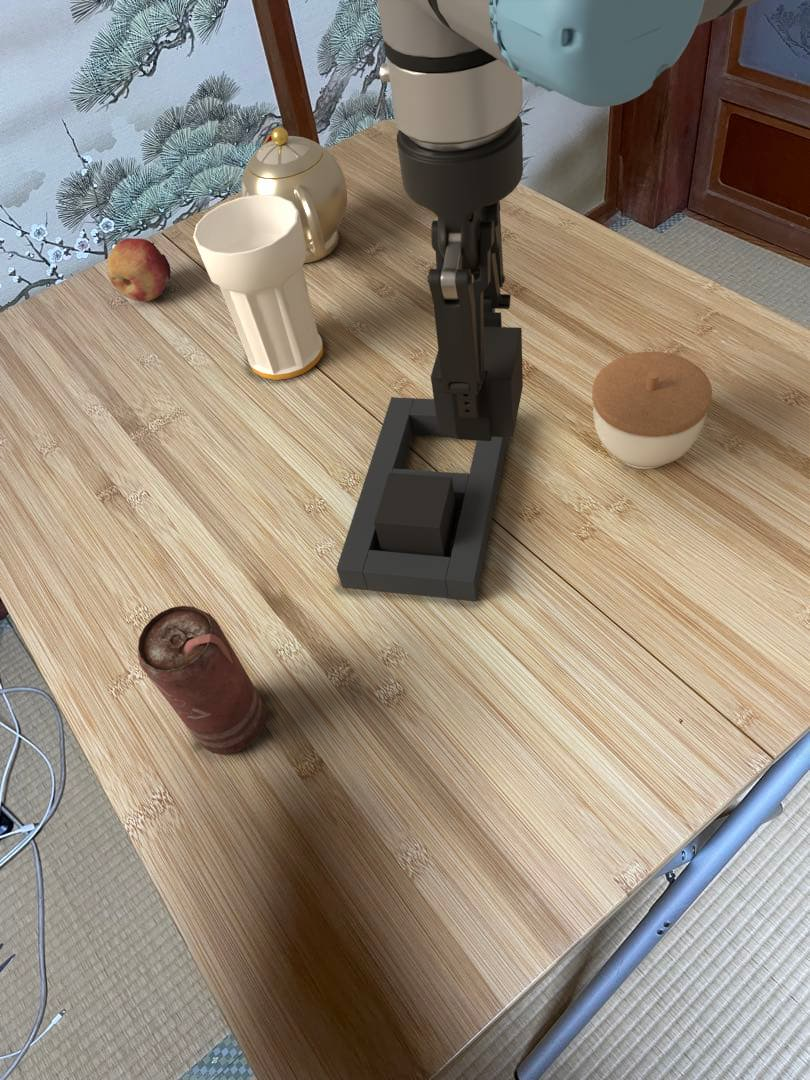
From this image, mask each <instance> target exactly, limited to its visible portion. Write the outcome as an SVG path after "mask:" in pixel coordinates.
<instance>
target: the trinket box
mask: <svg viewBox="0 0 810 1080" xmlns="http://www.w3.org/2000/svg"><path fill="white" fill-rule="evenodd" d="M591 394H592V395H591V398H592V413H593V414H592V417H593V418H592V419H593V422H594V427H595V433H596V435H597V437H598V439H599V441H600V442H601V444H602V446H603V447H604V448H605V450H606V451H607V452H608V453H609V454H610V455H611V456H613V458H616V459H617V460H619V461H620V462H622V463H623V464H624V465H627V466H628V467H631V468H635V469H638V470H639V469H640V470H652V469H653V470H654V469H658V468H660V467H664V466H665V465H668V464H672V463H673V462H675V461H677V460H678V459H680V458H681V457H683V456H684V455H685V454H686V453H688V451H690V449H692V447H693V446H694V445H695V443H696V442H697V440H698V438H699V437H700V435H701V433H702V431H703V429H704V425H705V423H706V419H707V416H708V412H709V409H710V406H711V404H712V400H713V399H712V398H713V386H712V383H711V380H710V379H709V377H708V376H707V374H706V373H705V372H704V371H703V369H702V368H700V367H699V366H698V365H697V364H695V363H694V362H692V361H691V360H689V359H687V358H685V357H683V356H679V355H677V354H673V353H668V352H664V351H663V352H662V351H639V352H634V353H629V354H626V355H623V356H620V357H618V358H616V359H614V360H612V361H610V362H609V363H607V364H606V365H605V366H604V367H603V368H602V369H601V370H600V371H599V372H598V373H597V375H596V376H595V379H594V380H593V384H592V390H591Z"/></svg>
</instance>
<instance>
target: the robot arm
mask: <svg viewBox="0 0 810 1080" xmlns="http://www.w3.org/2000/svg"><path fill="white" fill-rule="evenodd" d="M760 1H761V0H376V2H377V6H378V7H377V9H378V14H379V21H380V27H381V28H380V29H381V33H382V41H383V47H384V55H385V59H386V62H384V63H381V64H380V68H379V72H378V77H379V79H380V80H381V81H382V82H384V83H390V91H391V94H390V96H391V103H392V109H393V117H394V118H393V119H394V122H395V126H396V127H397V129H398V131H397V134H396V145H397V146H396V147H397V152H398V160H399V165H400V166H399V167H400V173H401V181H402V186H403V189H404V191H405V193H406V195H407V196H408V197H409V199H410V200H412V202H414V203H415V204H416V205H419V206H421V207H423V208H425V209H427V210H429V211H430V212H432V213H434V215H435V216H436V217H437V220H436V219H435V220H432V221H431V228H430V239H431V240H430V241H431V248H432V249H433V250H434V252H435V267H436V268H430V269H429V271H428V275H427V283H428V287H429V290H430V295H431V299H432V303H433V312H434V323H435V332H436V342H437V352H438V351H439V361H440V370H441V372H440V373H439V375H438V377H437V378H438V382H442V383H441V387H442V389H443V393H451V394H452V402H453V410H454V419H455V428H456V436H457V437H456V440H463V441H477V440H479V441H491V438H492V424H491V410H490V396H489V381H488V371H484V326H485V327H503V326H502V325H503V323H502V312H501V311H500V312H496V310H498V309H499V310H510V309H511V300H512V299H511V297H512V296H511V294H510V293H504V294H503V293H501V288H503V286H504V283H505V282H506V276H505V275H504V259H503V258H504V257H503V242H502V240H503V239H502V223H501V201H502V200H504V199H505V198H506V197H508V196H509V195H510V194H511V193H512V192H514V190H515V189H516V188H517V187H518V185H519V184H520V182H521V179H522V177H523V173H524V151H523V150H524V147H523V145H524V144H523V121H522V118H521V116H520V113H521V112H522V109H523V104H524V103H523V101H524V100H523V97H524V95H523V94H524V93H523V80H525V82H527V83H530V84H531V85H532V86H534V87H535V88H536V87H541V88H542V89H544V91H547V92H549V93H550V92H556V93H558V94H559V95H562V96H564V97H566V98H568V99H570V100H572V101H574V102H576V103H579V104H581V105H584V106H588V107H596V108H608V107H614V106H618V105H622V104H625V103H628V102H630V101H632V100H634V99H636V98H638V97H640V96H641V95H643V94H645V93H646V92H647V91H648V90H650V89H651V88H652V86H653V84H654V81H655V80H656V79H657V78H658V77H659V76H660V75H661V74H662V73H663V72H664V71H665V70H666V69H669V68H672V67H673V66H674V65H675V64H676V62H677V61H678V60H679V59H680V57H681V56H682V54H683V53H684V51H685V49H686V48H687V46H688V44H689V42H690V40H691V39H692V36H693V34H694V33H695V30H696V28H697V26H700V25H702V24H704V23H707V22H710V21H712V20H714V19H717V18H720V17H723V16H725V15H726V14H728V13H730V12H733V11H736V10H738V9H741V8H744V7H746V6H749V5H752V4H754V3H757V2H760Z"/></svg>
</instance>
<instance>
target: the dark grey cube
mask: <svg viewBox="0 0 810 1080" xmlns="http://www.w3.org/2000/svg"><path fill="white" fill-rule="evenodd" d="M458 520H459V519H458V512H457V511H456V504H455V496H454V489H453V481H452V477H442V476H427V475H413V474H399V473H389V474H388V478H387V481H386V484H385V488H384V491H383V494H382V497H381V501H380V504H379V507H378V511H377V514H376V517H375V521H374V524H375V528H376V532H377V536H378V540H379V543H380V551H387V552H398V553H409V554H420V555H431V556H442V557H450V553H451V551H452V545H453V542H454V537H455V533H456V532H455V531H456V529H457V528H456V527H457V524H458Z"/></svg>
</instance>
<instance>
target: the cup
mask: <svg viewBox="0 0 810 1080" xmlns="http://www.w3.org/2000/svg"><path fill="white" fill-rule="evenodd" d="M192 236H193V237H192V239H193V241H194V243H195V246H196V248H197V250H198V252H199V256H200V257H201V260H202V263H203V265H204V267H205V270H206V272H207V274H208V276H209V279H210V281H211V282H212V283H213V284H215V285H217V286H218V287H219V289H220V291H221V294H222V297H223V300H224V302H225V305H226V307H227V309H228V312H229V314H230V317H231V319H232V322H233V324H234V327H235V330H236V332H237V335H238V337H239V339H240V342H241V344H242V346H243V347H242V348H243V349H244V353H245V354H246V357H247V361H248V364H249V366H250V369H251V370H252V372H253V373H254V374H256V375H258V376H259V377H262V378H265V379H268V380H275V381H279V380H287V379H293V378H295V377H298V376H301V375H304V374H306V373H307V372H308V371H310V370H311V369H312V368H313V367H315V366H316V365H317V364H318V362H320V360H321V358H322V357H323V355H324V343H323V339H322V337H321V335H320V334H319V332H318V329H317V324H316V319H315V315H314V311H313V306H312V303H311V298H310V294H309V289H308V286H307V281H306V276H305V272H304V267H303V265H304V264H305V263H304V261H305V259H306V249H307V247H306V242H305V238H304V233H303V228H302V224H301V219H300V214H299V211H298V210H297V208H296V207H295V205H294V204H293V202H291V201H289V200H286V199H284V198H282V197H280V196H273V195H262V194H260V195H253V196H246V197H238V198H235V199H232V200H229V201H226V202H222V203H221V204H219V205H218V206H216V207H214V208H213V209H211V210H209V211H208V212H206V213H205V214H204V216H202V217H201V219H200V220H199V221H198V222H197V223H196V225H195V228H194V232H193V235H192Z"/></svg>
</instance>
